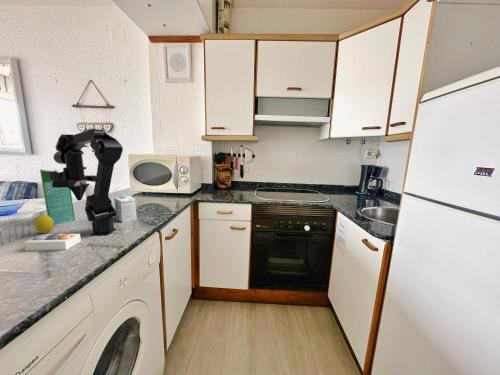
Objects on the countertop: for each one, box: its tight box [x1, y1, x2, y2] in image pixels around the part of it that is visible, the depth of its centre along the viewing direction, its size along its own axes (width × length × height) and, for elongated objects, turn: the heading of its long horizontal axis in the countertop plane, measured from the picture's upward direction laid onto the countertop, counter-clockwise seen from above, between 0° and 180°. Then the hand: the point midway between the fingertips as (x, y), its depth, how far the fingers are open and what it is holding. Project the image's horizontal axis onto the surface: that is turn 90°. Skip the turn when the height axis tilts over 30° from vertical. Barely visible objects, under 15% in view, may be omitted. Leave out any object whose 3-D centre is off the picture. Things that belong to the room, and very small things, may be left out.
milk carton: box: [39, 168, 76, 225], centre depth 100 cm, size 9×9×25 cm
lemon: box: [34, 214, 55, 234], centre depth 85 cm, size 6×6×8 cm
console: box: [23, 233, 82, 252], centre depth 75 cm, size 7×13×3 cm, turn 94°
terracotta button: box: [60, 233, 72, 240], centre depth 75 cm, size 3×3×3 cm
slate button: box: [34, 233, 48, 240], centre depth 74 cm, size 3×3×3 cm
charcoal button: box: [47, 233, 60, 240], centre depth 74 cm, size 3×3×3 cm
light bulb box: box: [113, 195, 138, 224], centre depth 104 cm, size 11×7×11 cm, turn 47°
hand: (79, 200), depth 92 cm, fingers closed
